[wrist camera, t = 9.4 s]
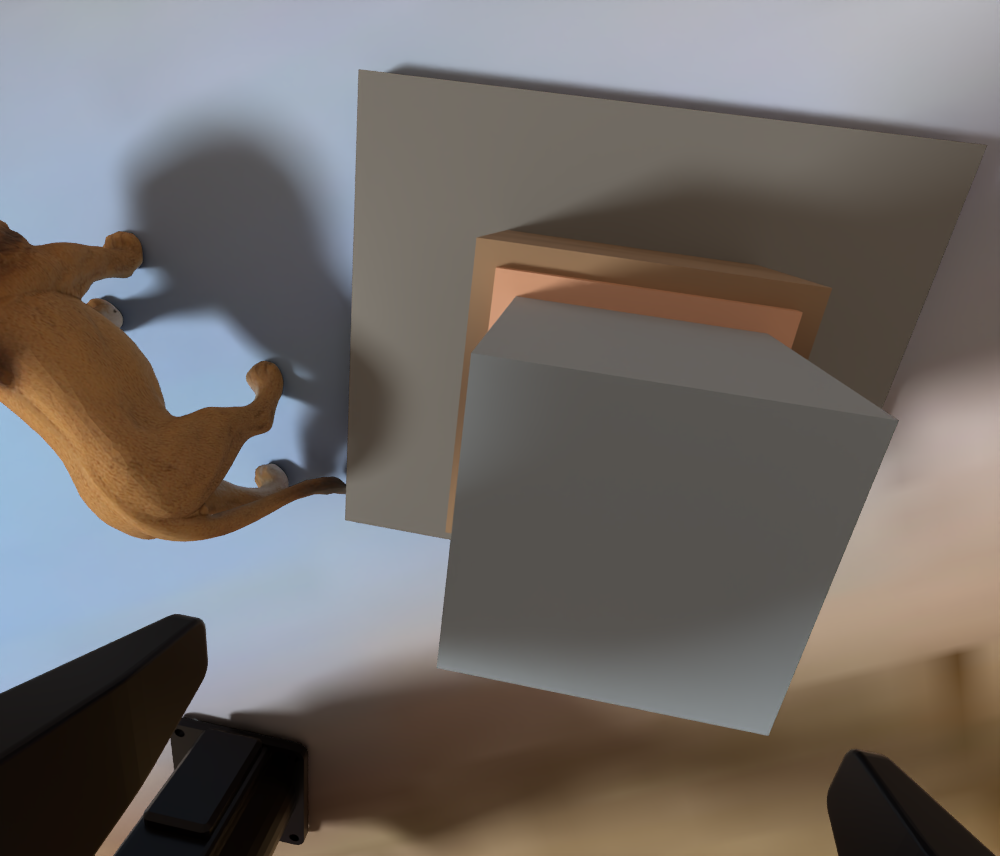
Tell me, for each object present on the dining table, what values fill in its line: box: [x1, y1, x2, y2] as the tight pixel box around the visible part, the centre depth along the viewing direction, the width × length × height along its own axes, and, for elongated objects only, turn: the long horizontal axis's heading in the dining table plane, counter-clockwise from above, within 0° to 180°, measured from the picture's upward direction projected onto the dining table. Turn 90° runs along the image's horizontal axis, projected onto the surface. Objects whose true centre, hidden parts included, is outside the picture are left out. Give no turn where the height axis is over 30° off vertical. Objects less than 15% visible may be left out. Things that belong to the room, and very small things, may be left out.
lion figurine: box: [0, 220, 346, 541], centre depth 16 cm, size 15×5×9 cm, turn 51°
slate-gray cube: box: [437, 296, 899, 736], centre depth 10 cm, size 5×5×5 cm
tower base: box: [345, 69, 987, 540], centre depth 15 cm, size 14×16×6 cm
